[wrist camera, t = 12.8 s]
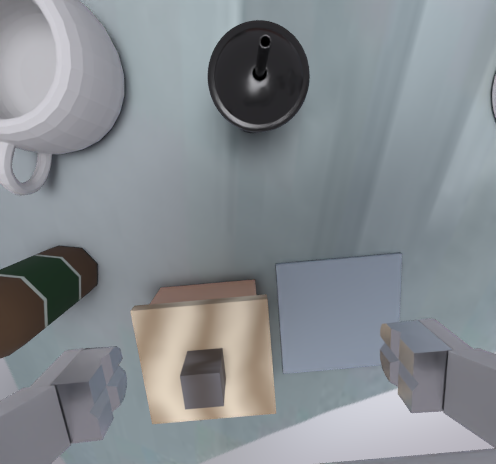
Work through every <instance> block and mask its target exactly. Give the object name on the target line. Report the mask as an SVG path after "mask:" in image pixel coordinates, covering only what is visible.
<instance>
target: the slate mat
mask: <svg viewBox="0 0 496 464" xmlns="http://www.w3.org/2000/svg"><path fill="white" fill-rule="evenodd" d="M401 269H402V253H391V254H379V255H368V256H357V257H345V258H334V259H323V260H311V261H300V262H289V263H277V264H276V277H277V292H278V306H279V321H280V336H281V350H282V365H283V374H287V373H299V372H310V371H322V370H333V369H344V368H356V367H367V366H378V365H381V361H380V348H381V347H382V345H383V344H384V343H385V342H384V340H383V339H382V338H381V337H380V328H381V325H382V324H384V323H393V322H400V298H401Z"/></svg>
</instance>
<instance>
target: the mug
mask: <svg viewBox="0 0 496 464" xmlns="http://www.w3.org/2000/svg"><path fill="white" fill-rule="evenodd" d="M123 98H124V73H123V69H122V65H121V62H120V58H119V54H118V52H117V50H116V48H115V46H114V45H113V43H112V41H111V39H110V37H109V35H108V33H107V31H106V29H105V27H104V26H103V25H102V24H101V22H100V21H99V20H98V19H97V18H96V17H95V16H94V14H93V13H92V12H91V11H90V10H89V9H88V8H87V7H86V6H85V5H84V4H83V3H81V2H80V1H79V0H0V183H1V184H2V185H3V186H4V187H5V188H6V189H7V190H9V191H10V192H12V193H14V194H15V195H20V196H22V195H28V194H32V193H35V192H37V191H38V190H39V189H40V188H41V187H42V186H43V185H44V183H45V181H46V179H47V177H48V174H49V171H50V167H51V161H52V154H64V153H69V152H73V151H78V150H82V149H85V148H86V147H88V146H90V145H92V144H94V143H96V142H98V141H100V140H101V139H102V138H103V137H104V136H105V135H106V134H107V133H108V132H109V131H110V130H111V128H112V127H113V125H114V123H115V121H116V119H117V118H118V116H119V114H120V111H121V107H122V103H123ZM15 147H16V148H19V149H23V150H26V151H31V152H37V154H38V156H37V164H36V168H35V170H34V173H33V175H32V176H31V178H30V179H29V180H28V181H26V182H24V183H20V182H19V181H18V180H17V179H16V177H15V175H14V173H13V169H12V160H13V155H14V151H15Z"/></svg>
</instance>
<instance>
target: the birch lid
mask: <svg viewBox="0 0 496 464" xmlns="http://www.w3.org/2000/svg"><path fill="white" fill-rule="evenodd" d="M131 316H132V321H133V327H134V332H135V337H136V342H137V347H138V353H139V358H140V363H141V368H142V373H143V378H144V384H145V389H146V394H147V399H148V404H149V409H150V415H151V420H152V424H160V423H171V422H183V421H195V420H206V419H218V418H229V417H241V416H252V415H264V414H276V405H275V392H274V379H273V366H272V352H271V339H270V326H269V313H268V300H267V294H265V295H253V296H242V297H230V298H219V299H207V300H196V301H184V302H173V303H161V304H150V305H138V306H134V307H133V308H132V310H131Z"/></svg>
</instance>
